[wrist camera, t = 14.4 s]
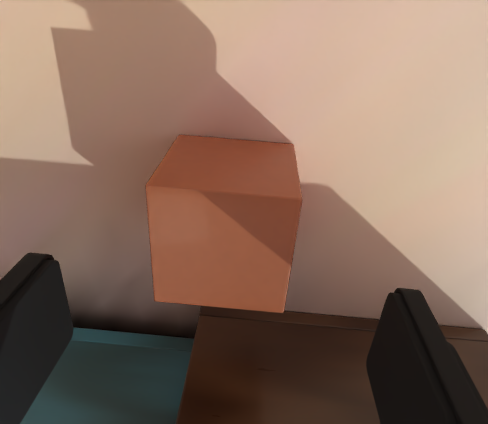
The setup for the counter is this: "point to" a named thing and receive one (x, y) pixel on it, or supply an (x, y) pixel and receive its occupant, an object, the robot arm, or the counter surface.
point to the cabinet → (294, 368)
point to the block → (224, 223)
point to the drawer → (114, 380)
